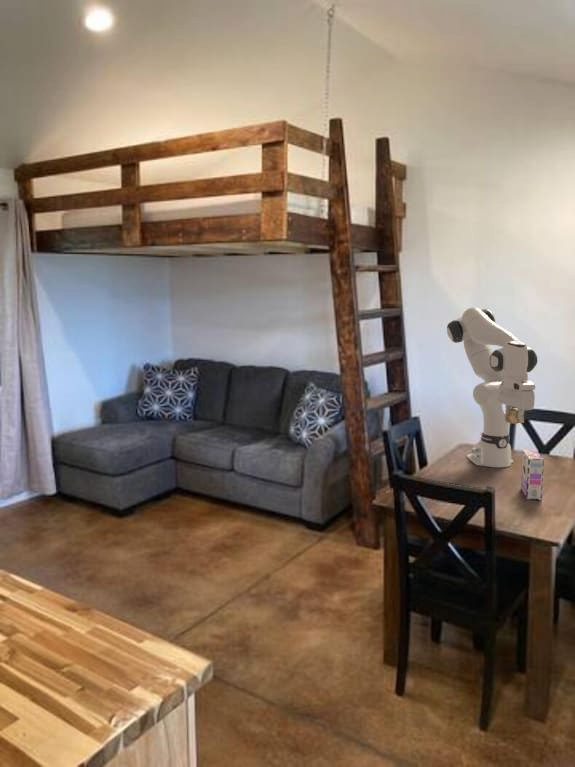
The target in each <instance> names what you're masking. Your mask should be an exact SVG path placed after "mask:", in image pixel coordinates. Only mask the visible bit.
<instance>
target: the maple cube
mask: <svg viewBox="0 0 575 767" xmlns="http://www.w3.org/2000/svg"><path fill="white" fill-rule="evenodd" d="M518 412H519V411H518V408H515V407H512V408H511V409H506V408H505V411H504V414H505V421H506V422H509V424H512V425H513V424H514V425H515V424H523V423H525V412H524V413H523V417H522V420H519V419H516V415H518Z"/></svg>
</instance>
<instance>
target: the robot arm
mask: <svg viewBox="0 0 575 767" xmlns="http://www.w3.org/2000/svg"><path fill="white" fill-rule="evenodd" d="M446 333H447V337H448V338H449V340H451V342H453V343H456V344H457V343H462V342H463V347H464V351H465V354H466V356H467V359H468V362H469V364H470V365H471V368H472V371H473V372H474V374H475V375H476V376H477V377H478V378H481V379H482V380H483V381H484V382H482V383H478V384H477V385H476V386H474V388H473V391H472V397H473V400H474V401H475V403H476V404H477V405H479V407H480V410H481V412H482V418H483V432H481V433H480V440H479V441H477V442H476V443H475V444H473V446H472V449H471V453H468V454H467V455H466V458H467V459H468V460H469V461H471V462H472V463H473V464H475V466H480V467H490V468H508V467H511V465H512V464H513V463H514V460H513V459H512V446H511V444H510V439H511V438H510V437H511V436H510V434H509V431H510V423H509V422H506V421H505V411H504V409H503V405H505V409H512V408H518V411H519V412H518V415H516V419H519V420H522V417H523V413H524V414H525V411H532V410H533V409H534V408H535V401H536V400H535V399H536V398H535V392H534V391H535V390H536V385H535V384H534V383H533V382H532V381H531V380H530V379H529V377H528V373H530V372H532V371H533V370H535V367H537V364H538V355H537V353H536V352H535V351H534V350H533V348H531V347H529V346H528V345H527V344H526V343H524V342H522V341H520V339H518V338H517V337H516V336H514V335H513V334H512V332H510V331H508V330H507V329H505V328H503V327H501V326H500V325H498V324H497V323H496V317H495V315H494V314H493V313H492V311H491V310H490V309H488V308H484V309H480V308H477V307H470V308H467V309H466V310H465V311H464V312H463V314H462V316H461V317H458V318H457V319H453V320H452V321H450V322H448V323H447V326H446ZM490 346H498V347H501V348H497V349H495V350H492V349H491V347H490Z"/></svg>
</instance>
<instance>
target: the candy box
mask: <svg viewBox="0 0 575 767" xmlns="http://www.w3.org/2000/svg"><path fill="white" fill-rule="evenodd" d="M521 453H522V454H521V478H520V479H521V481H520V482H521V483H520V490H521V492H522V493H523V495H524V497H525V499H526V500H531V501H533V500H534V501H542V498H543V480H544V478H543V477H544V462H545V459H544V458H543V456H542V455H541V454H540V453H539V451H538V450H533V449H532V450H531V449H530V450H529V449H522V452H521Z"/></svg>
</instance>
